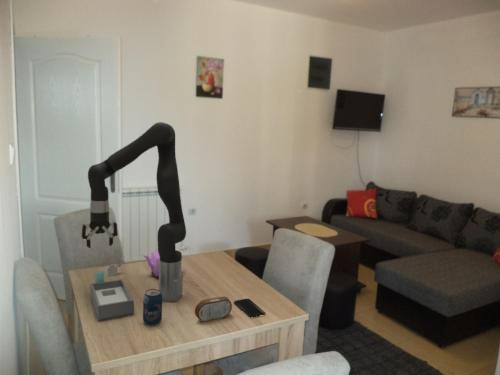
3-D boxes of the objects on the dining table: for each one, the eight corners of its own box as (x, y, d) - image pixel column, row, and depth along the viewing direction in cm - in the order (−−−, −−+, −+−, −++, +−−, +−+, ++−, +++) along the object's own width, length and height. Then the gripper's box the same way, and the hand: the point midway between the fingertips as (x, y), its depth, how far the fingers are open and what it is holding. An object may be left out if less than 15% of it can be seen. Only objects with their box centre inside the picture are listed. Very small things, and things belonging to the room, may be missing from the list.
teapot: (178, 268, 197) (179, 245, 195) (184, 276, 188) (185, 252, 186) (139, 273, 188) (139, 249, 186) (143, 281, 179) (144, 256, 177)
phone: (248, 298, 167) (266, 313, 154) (248, 300, 167) (266, 316, 154) (232, 301, 163) (249, 317, 150) (232, 303, 163) (249, 319, 150)
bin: (122, 292, 166) (122, 279, 165) (133, 314, 147) (133, 300, 147) (90, 297, 160) (90, 283, 159) (98, 321, 141) (98, 306, 140)
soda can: (144, 327, 139) (144, 297, 137) (141, 318, 145) (142, 289, 143) (163, 325, 141) (164, 294, 140) (159, 316, 148) (160, 287, 146)
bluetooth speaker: (228, 313, 153) (230, 294, 152) (232, 317, 151) (233, 297, 149) (194, 320, 146) (194, 300, 145) (197, 324, 143) (197, 303, 142)
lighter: (108, 276, 182) (108, 260, 181) (107, 275, 184) (107, 259, 182) (123, 274, 186) (123, 258, 185) (122, 273, 187) (122, 257, 186)
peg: (105, 289, 168) (105, 272, 167) (100, 292, 165) (100, 274, 164) (99, 287, 170) (99, 270, 168) (93, 290, 166) (93, 273, 165)
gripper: (115, 207, 168) (115, 242, 171) (80, 209, 161) (81, 245, 164) (118, 211, 162) (118, 247, 164) (82, 213, 155) (83, 251, 157)
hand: (99, 246), depth 164 cm, fingers open, 8 cm apart
